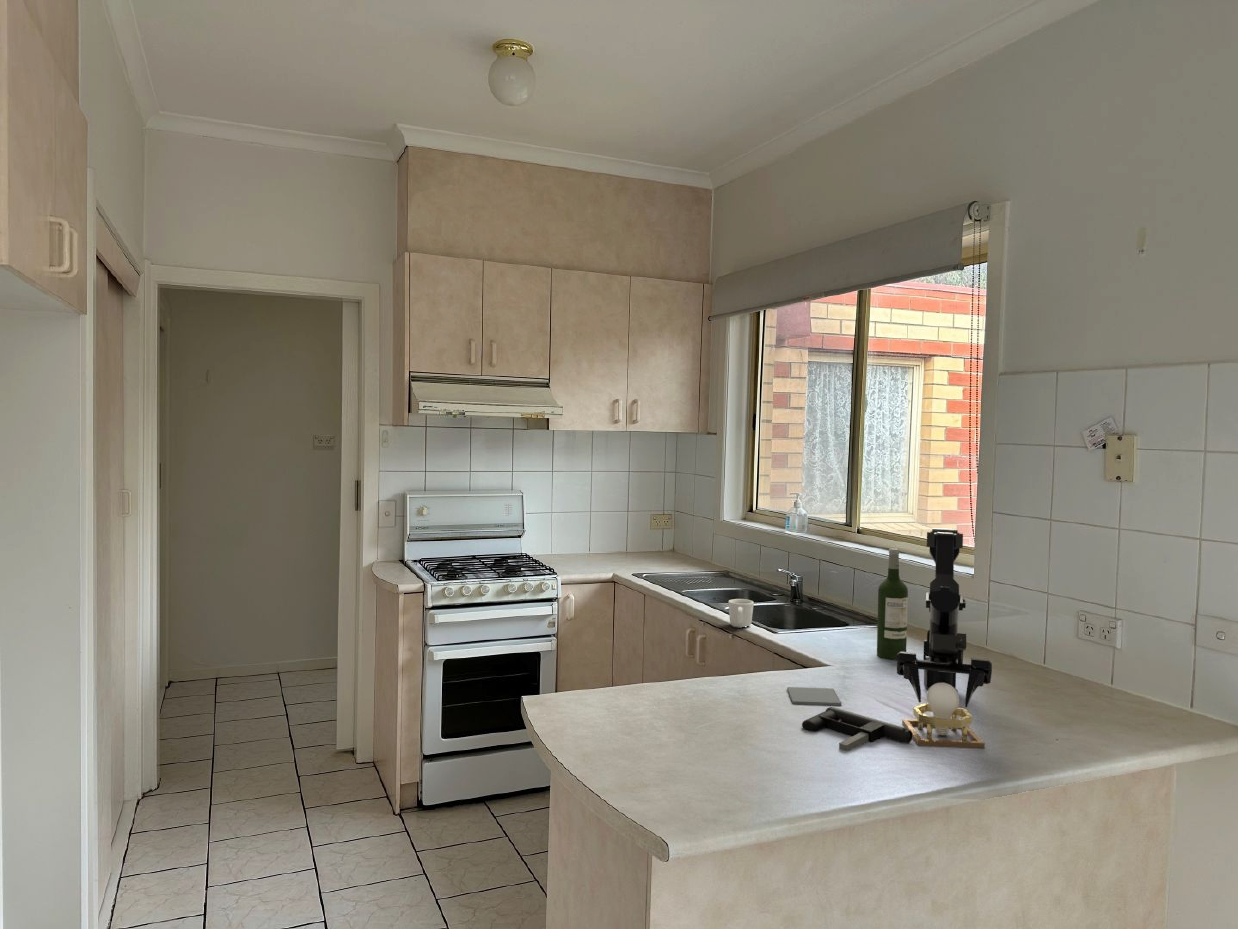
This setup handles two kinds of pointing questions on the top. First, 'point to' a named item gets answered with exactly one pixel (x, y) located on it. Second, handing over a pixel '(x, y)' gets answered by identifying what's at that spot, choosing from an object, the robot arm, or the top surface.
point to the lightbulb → (942, 703)
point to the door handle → (856, 728)
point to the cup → (740, 612)
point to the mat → (813, 696)
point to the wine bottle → (892, 611)
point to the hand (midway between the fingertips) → (942, 703)
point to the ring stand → (948, 723)
